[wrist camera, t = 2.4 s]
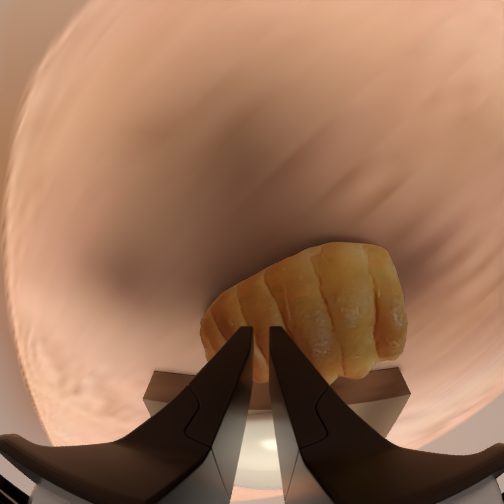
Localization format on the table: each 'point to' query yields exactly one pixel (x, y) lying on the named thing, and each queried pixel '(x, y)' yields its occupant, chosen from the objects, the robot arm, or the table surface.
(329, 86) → the table surface
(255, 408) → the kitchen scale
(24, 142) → the table surface
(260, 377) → the pastry
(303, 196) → the table surface
